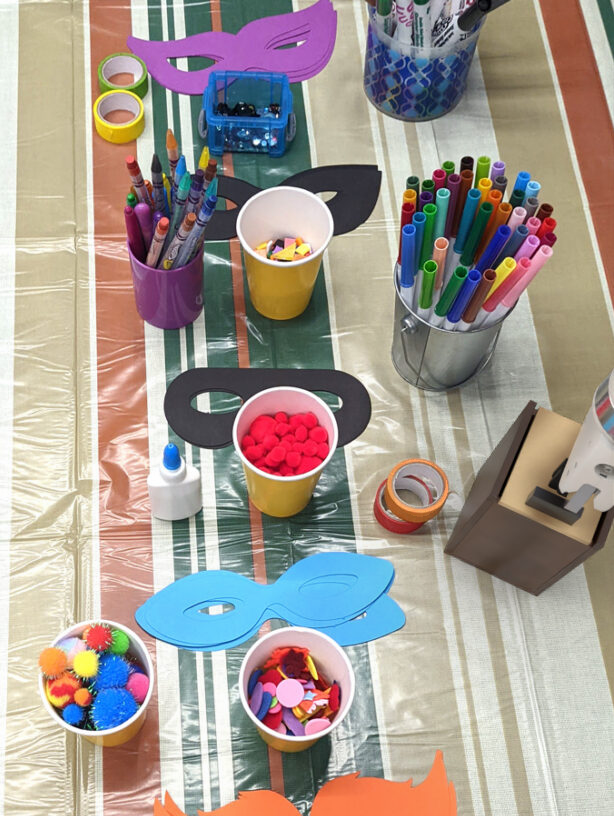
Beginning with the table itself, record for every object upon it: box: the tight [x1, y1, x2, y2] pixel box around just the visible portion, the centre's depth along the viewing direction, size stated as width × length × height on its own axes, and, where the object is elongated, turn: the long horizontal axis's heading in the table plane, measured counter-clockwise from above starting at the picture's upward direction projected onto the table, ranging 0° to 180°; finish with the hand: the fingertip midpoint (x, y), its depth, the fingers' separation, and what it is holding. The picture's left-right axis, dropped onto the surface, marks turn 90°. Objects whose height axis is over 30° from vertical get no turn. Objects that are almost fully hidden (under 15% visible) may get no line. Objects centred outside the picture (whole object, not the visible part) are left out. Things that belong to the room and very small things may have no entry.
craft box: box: [443, 399, 614, 597], centre depth 98 cm, size 12×12×19 cm
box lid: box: [498, 405, 602, 545], centre depth 89 cm, size 10×12×3 cm
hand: (564, 486), depth 87 cm, fingers closed
